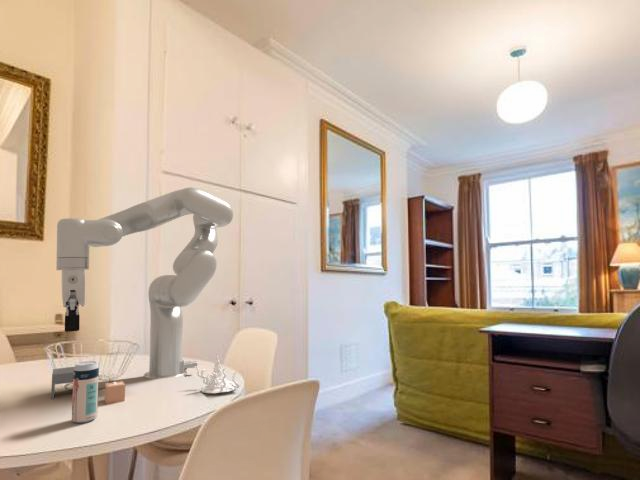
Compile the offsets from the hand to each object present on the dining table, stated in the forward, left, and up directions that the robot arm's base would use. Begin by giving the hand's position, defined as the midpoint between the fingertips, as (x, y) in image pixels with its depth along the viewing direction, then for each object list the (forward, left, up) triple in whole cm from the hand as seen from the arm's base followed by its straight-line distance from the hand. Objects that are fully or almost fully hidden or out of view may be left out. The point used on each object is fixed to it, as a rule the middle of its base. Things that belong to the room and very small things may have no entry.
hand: (72, 328), depth 108 cm
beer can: (-3, +25, -17) cm, 30 cm away
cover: (0, 0, -17) cm, 17 cm away
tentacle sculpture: (-34, +16, -17) cm, 42 cm away
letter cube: (-10, +13, -17) cm, 23 cm away
